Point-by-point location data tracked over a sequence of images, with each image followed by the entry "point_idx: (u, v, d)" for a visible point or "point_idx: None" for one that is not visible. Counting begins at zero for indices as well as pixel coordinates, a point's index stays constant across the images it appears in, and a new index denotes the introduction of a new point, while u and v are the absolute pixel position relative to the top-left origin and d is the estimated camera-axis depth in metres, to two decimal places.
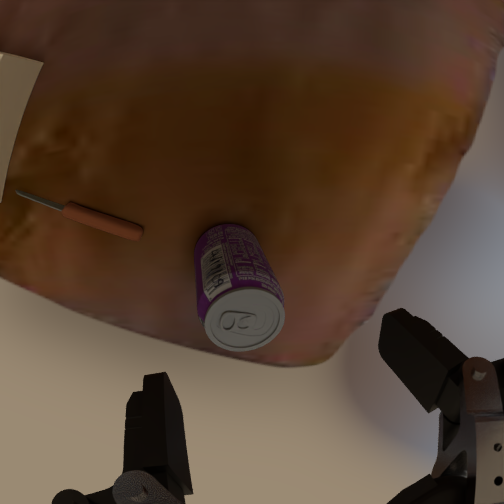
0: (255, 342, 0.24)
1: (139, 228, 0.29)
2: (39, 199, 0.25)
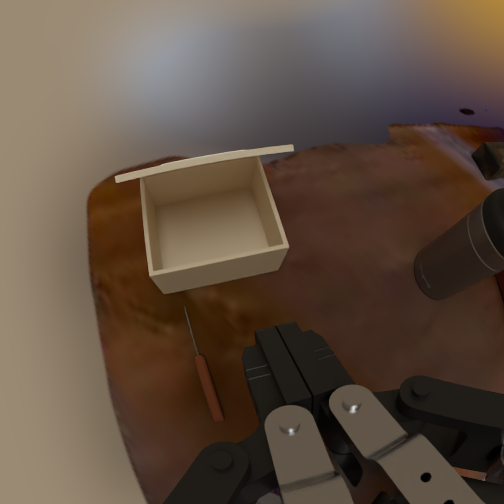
0: None
1: (223, 416, 0.33)
2: (191, 330, 0.37)
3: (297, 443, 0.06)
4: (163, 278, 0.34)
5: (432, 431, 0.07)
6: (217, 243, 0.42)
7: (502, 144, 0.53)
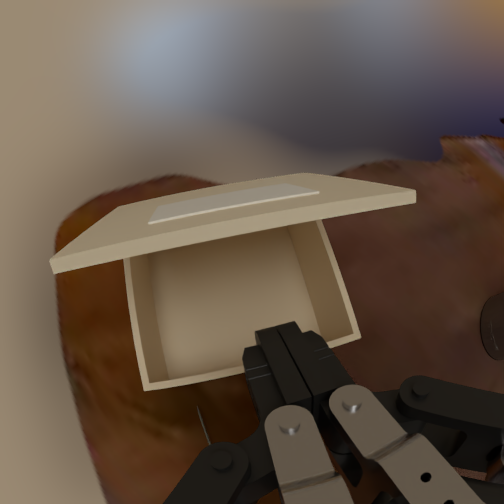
0: None
1: None
2: (209, 440, 0.23)
3: (296, 443, 0.06)
4: None
5: (432, 431, 0.07)
6: (241, 312, 0.28)
7: None
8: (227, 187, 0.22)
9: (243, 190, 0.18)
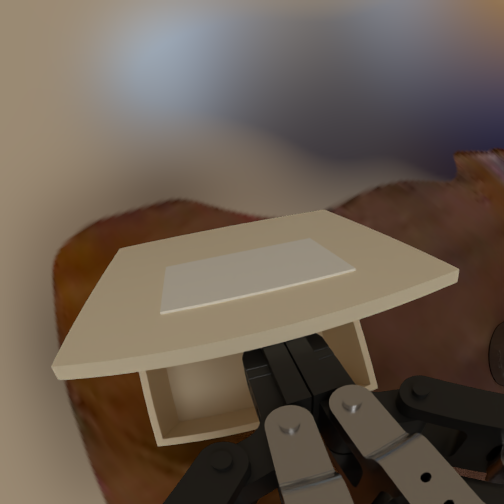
0: None
1: None
2: None
3: (296, 443, 0.06)
4: None
5: (432, 431, 0.07)
6: None
7: None
8: (241, 233, 0.20)
9: (263, 249, 0.16)
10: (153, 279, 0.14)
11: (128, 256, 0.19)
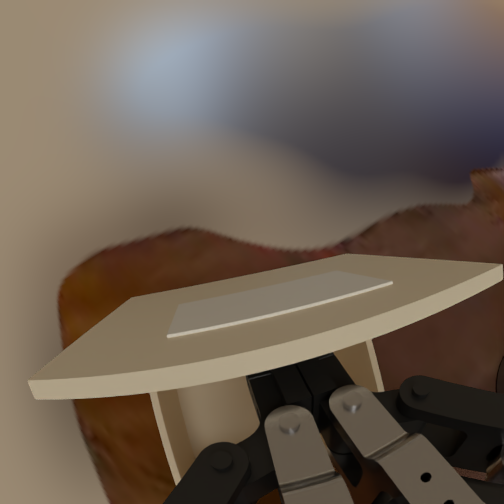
0: None
1: None
2: None
3: (297, 443, 0.06)
4: None
5: (432, 431, 0.07)
6: None
7: None
8: (262, 277, 0.18)
9: (287, 283, 0.14)
10: (163, 314, 0.13)
11: (139, 301, 0.17)
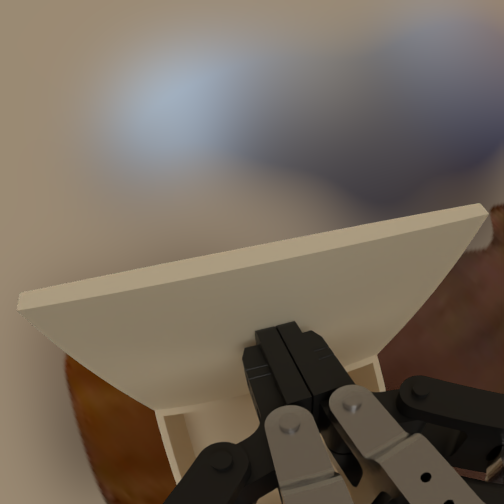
0: None
1: None
2: None
3: (296, 443, 0.06)
4: None
5: (432, 431, 0.07)
6: None
7: None
8: None
9: None
10: None
11: None
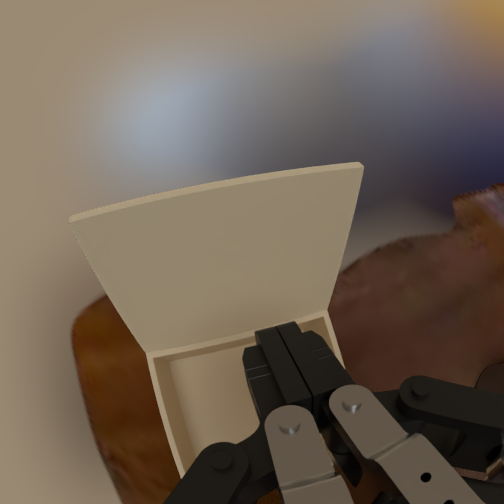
0: None
1: None
2: None
3: (297, 443, 0.06)
4: None
5: (432, 431, 0.07)
6: None
7: None
8: None
9: None
10: None
11: None
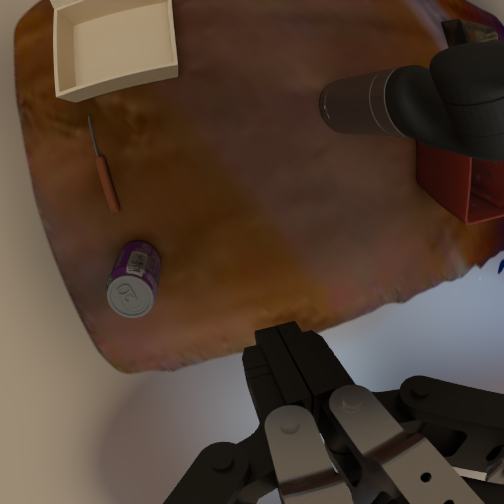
0: (122, 311, 0.36)
1: (118, 208, 0.41)
2: (93, 136, 0.36)
3: (296, 444, 0.06)
4: (69, 95, 0.29)
5: (432, 431, 0.07)
6: (125, 54, 0.33)
7: (482, 27, 0.36)
8: None
9: None
10: None
11: None
